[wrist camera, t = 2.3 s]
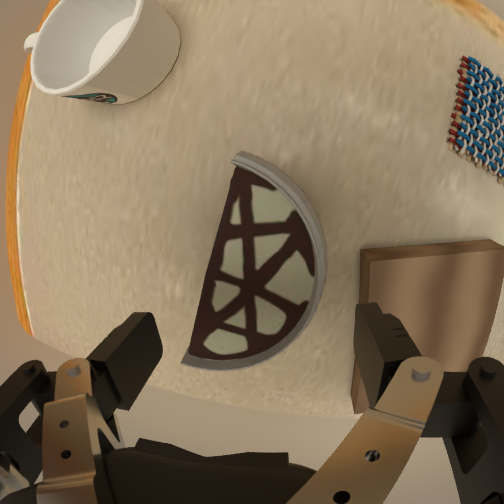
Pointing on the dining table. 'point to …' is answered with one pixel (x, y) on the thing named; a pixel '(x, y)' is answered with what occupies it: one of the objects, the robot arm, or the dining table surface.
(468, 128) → the woven mat
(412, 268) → the walnut base
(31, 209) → the dining table surface
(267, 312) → the food container
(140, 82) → the mug
